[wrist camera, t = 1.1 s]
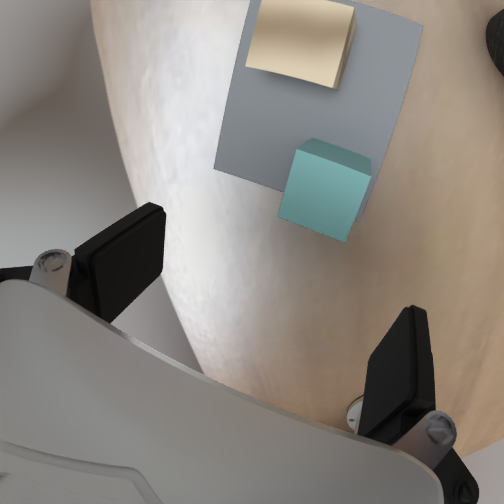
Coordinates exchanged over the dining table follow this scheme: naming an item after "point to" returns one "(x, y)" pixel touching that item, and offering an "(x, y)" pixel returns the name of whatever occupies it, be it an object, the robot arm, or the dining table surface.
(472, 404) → the dining table surface
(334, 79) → the beech block
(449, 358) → the dining table surface
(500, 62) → the travel mug
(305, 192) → the teal block
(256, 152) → the build board
